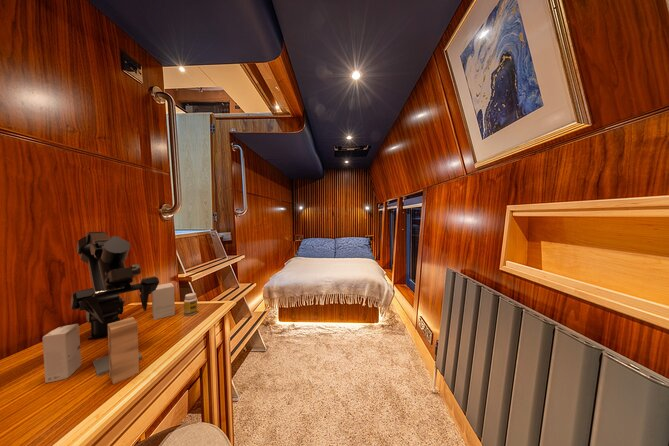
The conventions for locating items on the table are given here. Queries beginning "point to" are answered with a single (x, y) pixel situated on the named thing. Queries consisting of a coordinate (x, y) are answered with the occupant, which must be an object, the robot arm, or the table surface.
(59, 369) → the skincare box
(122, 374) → the oak block
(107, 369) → the slate coaster
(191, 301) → the supplement bottle
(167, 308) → the supplement box
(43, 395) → the table surface
